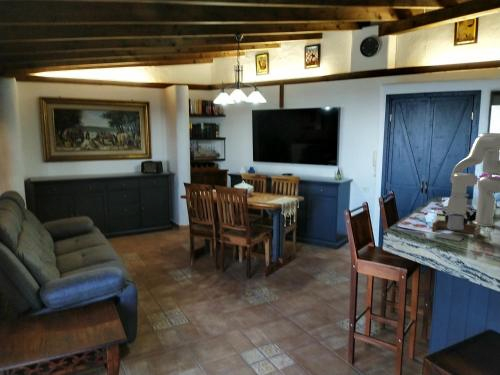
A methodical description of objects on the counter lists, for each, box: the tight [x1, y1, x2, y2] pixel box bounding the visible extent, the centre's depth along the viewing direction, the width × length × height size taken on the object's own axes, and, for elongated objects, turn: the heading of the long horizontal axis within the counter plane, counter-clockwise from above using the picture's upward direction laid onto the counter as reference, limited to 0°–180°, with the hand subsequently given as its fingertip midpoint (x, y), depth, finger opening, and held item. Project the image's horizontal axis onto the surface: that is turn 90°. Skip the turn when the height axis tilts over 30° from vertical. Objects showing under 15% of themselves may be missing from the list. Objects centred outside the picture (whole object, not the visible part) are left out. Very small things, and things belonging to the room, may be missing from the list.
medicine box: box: [447, 213, 465, 231], centre depth 227 cm, size 8×4×9 cm, turn 84°
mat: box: [436, 232, 465, 242], centre depth 219 cm, size 12×12×1 cm
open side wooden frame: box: [431, 219, 480, 239], centre depth 229 cm, size 12×23×5 cm, turn 51°
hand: (455, 223), depth 227 cm, fingers closed on medicine box, 9 cm apart
